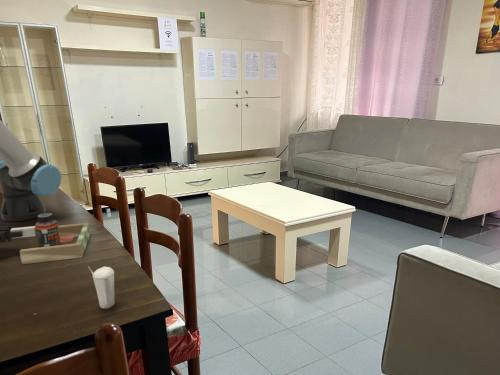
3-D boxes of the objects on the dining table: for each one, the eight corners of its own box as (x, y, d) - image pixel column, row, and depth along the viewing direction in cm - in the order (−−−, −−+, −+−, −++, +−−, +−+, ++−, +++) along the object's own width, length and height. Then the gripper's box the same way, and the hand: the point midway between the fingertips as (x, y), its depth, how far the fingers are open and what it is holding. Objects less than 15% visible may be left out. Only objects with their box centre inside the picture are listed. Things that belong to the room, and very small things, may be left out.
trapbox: (39, 239, 122) (37, 227, 121) (90, 233, 126) (89, 222, 125) (21, 264, 105) (19, 251, 103) (82, 257, 109) (80, 244, 108)
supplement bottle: (52, 253, 111) (46, 218, 108) (35, 252, 112) (28, 217, 109) (65, 245, 117) (59, 212, 114) (48, 244, 118) (43, 211, 115)
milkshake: (96, 300, 87) (91, 261, 84) (120, 298, 87) (115, 260, 84) (90, 311, 82) (84, 271, 80) (114, 309, 83) (109, 270, 80)
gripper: (-42, 243, 113) (43, 234, 119) (-64, 261, 101) (31, 251, 107) (-47, 220, 111) (39, 212, 117) (-71, 236, 99) (27, 227, 105)
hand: (35, 231), depth 112 cm, fingers closed
